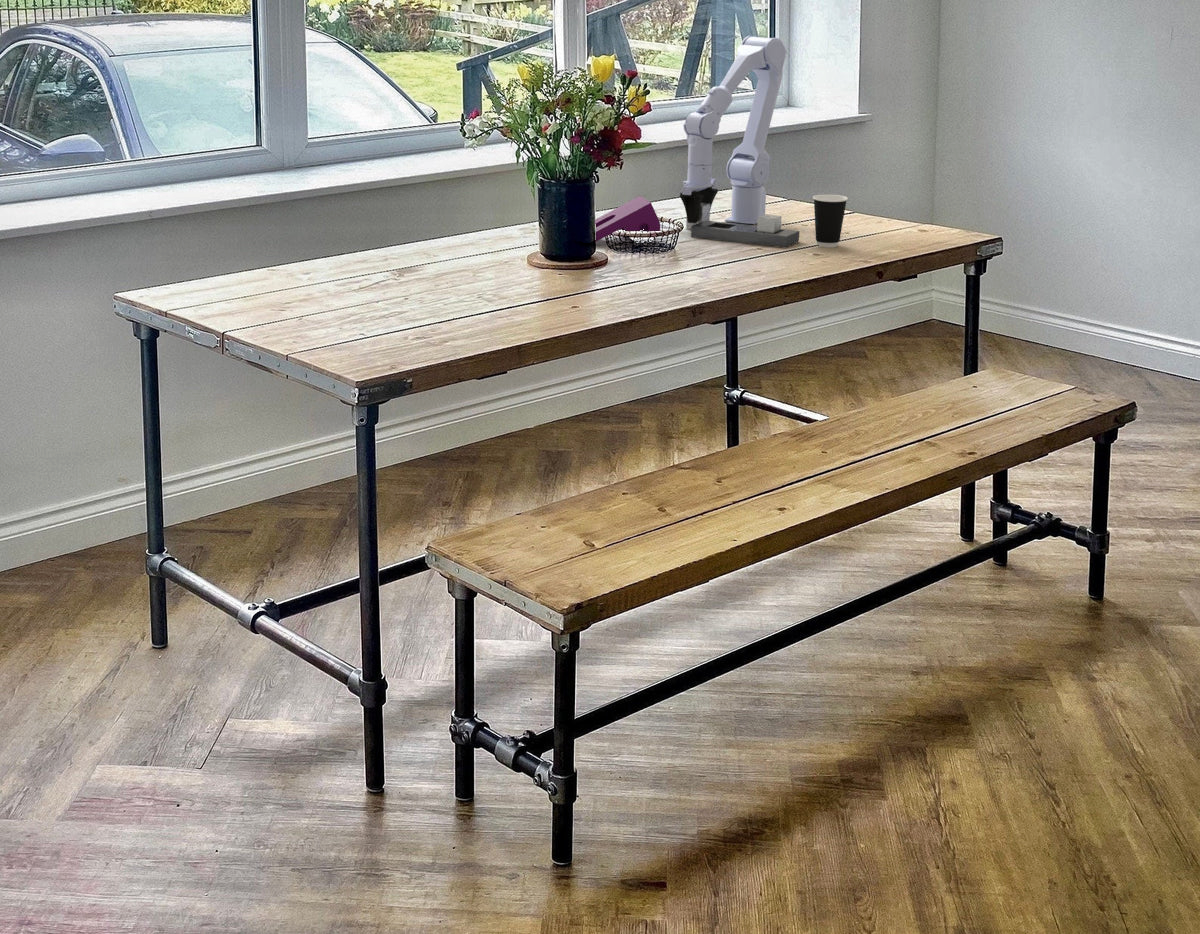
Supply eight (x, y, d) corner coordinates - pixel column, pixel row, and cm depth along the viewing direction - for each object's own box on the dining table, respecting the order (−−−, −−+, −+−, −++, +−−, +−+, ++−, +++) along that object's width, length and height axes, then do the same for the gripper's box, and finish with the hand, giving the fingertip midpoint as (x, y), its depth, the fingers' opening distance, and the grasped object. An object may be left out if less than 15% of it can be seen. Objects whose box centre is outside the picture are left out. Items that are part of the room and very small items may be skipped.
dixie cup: (851, 246, 330) (855, 198, 326) (826, 250, 325) (829, 201, 322) (828, 240, 336) (831, 193, 332) (802, 243, 332) (805, 196, 328)
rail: (705, 231, 345) (705, 220, 344) (798, 241, 334) (799, 230, 333) (691, 236, 338) (691, 225, 337) (785, 247, 327) (786, 236, 326)
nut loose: (693, 226, 350) (694, 201, 348) (709, 228, 348) (710, 203, 346) (686, 229, 347) (686, 204, 345) (701, 231, 345) (702, 206, 343)
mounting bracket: (597, 271, 330) (665, 235, 331) (581, 239, 326) (651, 202, 327) (587, 262, 338) (654, 227, 339) (572, 231, 335) (640, 195, 336)
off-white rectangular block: (763, 239, 336) (764, 214, 334) (780, 241, 334) (781, 216, 332) (756, 242, 333) (757, 217, 330) (773, 244, 331) (774, 219, 328)
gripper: (697, 158, 350) (696, 214, 355) (671, 166, 338) (669, 223, 343) (724, 161, 347) (722, 217, 352) (698, 169, 335) (696, 226, 340)
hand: (698, 220), depth 347 cm, fingers open, 6 cm apart
